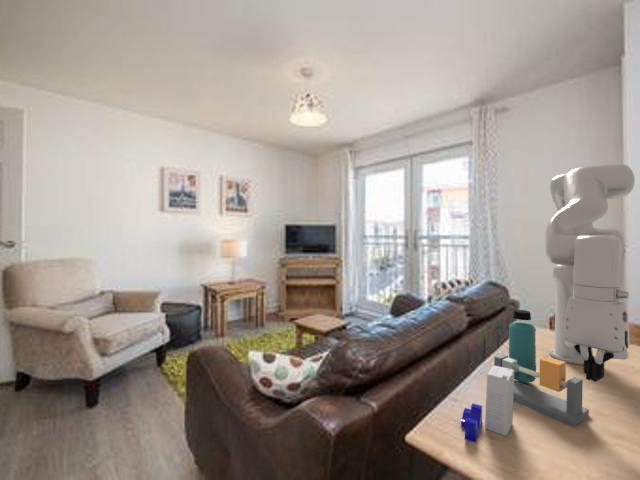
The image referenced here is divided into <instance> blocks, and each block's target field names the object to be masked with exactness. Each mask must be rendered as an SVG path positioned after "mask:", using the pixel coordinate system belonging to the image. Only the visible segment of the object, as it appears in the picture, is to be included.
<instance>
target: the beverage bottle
mask: <svg viewBox="0 0 640 480" xmlns="http://www.w3.org/2000/svg"><path fill="white" fill-rule="evenodd" d="M512 317H513V319H516V320H515V321H513V322H511V323H509V325H508V328H509V330H508V334H509V335H508V357H509V358H512V359H515V360H517V365H520V366H521V367H524V368H527V369H529V370H532V371H535V372H537V364H536V362H537V352H536V351H537V350H536V349H537V348H536V327H535V326H534V325H533V324H532V323H530V322H527V321H531V320H532V316H531V312H530V311H528V310H525V309H515V310H513V315H512ZM536 379H537V377H535V376H532V375H529V374H526V373H523V372H518V371H516V372H514V381H517V382H520V383H521V382H522V383H534V382H535V380H536Z"/></svg>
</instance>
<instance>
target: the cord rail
mask: <svg viewBox="0 0 640 480" xmlns="http://www.w3.org/2000/svg"><path fill="white" fill-rule="evenodd" d="M493 361H494V365H493V366H499V367H503V368H508V369H512V370H514V372H516V371H518V372H523V373H526V374H529V375H532V376H535V378H536V379H540V372H538V371H536V372H535V371H532V370H529V369H527V368H524V367H521V366H520V365H517V360H515V359H512V358H509V354H508V355H507V354H504V353H500V354H498V355H495V356H494V359H493ZM583 382H584V380H583V379H582V378H579V377H576V376H573V377H572V378H570V379H568V380H565V381H562V380H560V386H563V387H565V389H566V400H565V399H563V398H560V397H558V396H554V395H552V394H549V393H547V392H545V391H541V390H539V389H536V388H534V387H531V386H528V385H526V384H524V383H521V382H519V381H517V380H514V393H513V403H516V404H519V405H521V406H523V407H525V408H527V409H530V410H532V411H535V412H537V413H539V414H542V415H544V416H546V417H549V418H550V419H553V420H556V421H557V422H560V423H563V424H565V425H567V426H569V427H571V428H574V427H576V426H577V425H578V424H580V423H581V422H583V421H584V420H585V419H587V418H588V417H589V416H590V409H589V408H586V407H584V406H583V390H584V389H583V387H584V386H583Z"/></svg>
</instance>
